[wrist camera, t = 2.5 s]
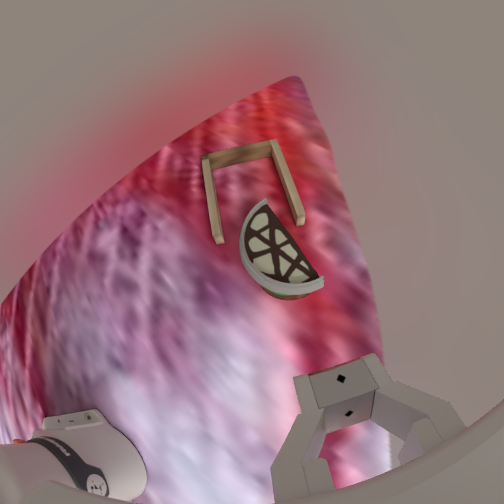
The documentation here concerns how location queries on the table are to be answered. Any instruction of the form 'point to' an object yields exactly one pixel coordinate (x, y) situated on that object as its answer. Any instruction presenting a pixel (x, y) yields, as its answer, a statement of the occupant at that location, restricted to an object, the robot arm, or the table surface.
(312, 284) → the food container
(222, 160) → the wooden u-shaped frame
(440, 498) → the robot arm
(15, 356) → the table surface
